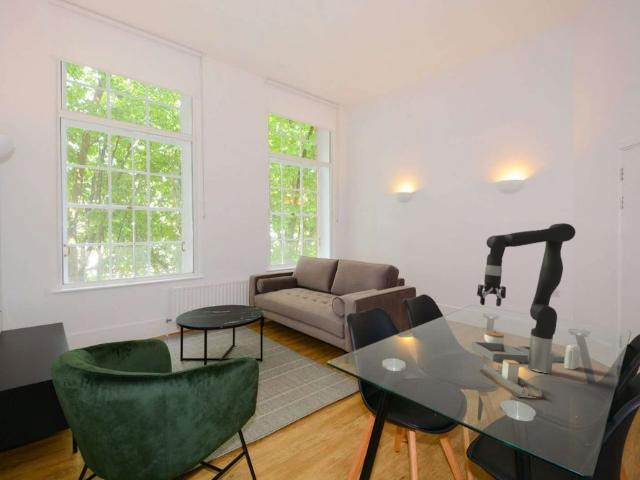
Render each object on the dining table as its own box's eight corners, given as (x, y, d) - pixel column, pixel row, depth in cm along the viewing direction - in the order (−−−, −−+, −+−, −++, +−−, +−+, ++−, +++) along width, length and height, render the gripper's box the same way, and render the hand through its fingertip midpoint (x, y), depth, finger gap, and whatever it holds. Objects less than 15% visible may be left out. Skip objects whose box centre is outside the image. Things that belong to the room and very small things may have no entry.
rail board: (502, 372, 159) (503, 365, 159) (544, 398, 134) (545, 390, 134) (479, 371, 158) (480, 364, 158) (517, 397, 132) (518, 389, 132)
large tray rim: (503, 350, 197) (503, 343, 197) (527, 362, 177) (528, 355, 177) (471, 348, 195) (472, 341, 195) (492, 361, 175) (493, 353, 175)
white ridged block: (570, 364, 180) (572, 342, 180) (579, 367, 177) (581, 344, 176) (562, 367, 174) (564, 344, 174) (571, 370, 171) (574, 347, 171)
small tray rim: (542, 352, 200) (543, 347, 200) (565, 362, 184) (565, 356, 184) (518, 350, 198) (519, 345, 198) (538, 360, 182) (539, 355, 182)
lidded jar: (485, 346, 201) (486, 331, 201) (482, 341, 212) (483, 327, 211) (504, 349, 198) (506, 334, 198) (500, 344, 208) (501, 329, 208)
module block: (512, 380, 148) (513, 360, 148) (517, 383, 144) (519, 363, 144) (501, 379, 148) (503, 359, 148) (506, 383, 144) (508, 362, 144)
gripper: (484, 274, 166) (481, 306, 166) (510, 276, 167) (508, 308, 167) (476, 272, 173) (473, 303, 173) (501, 274, 175) (498, 304, 175)
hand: (490, 305), depth 170 cm, fingers open, 8 cm apart
